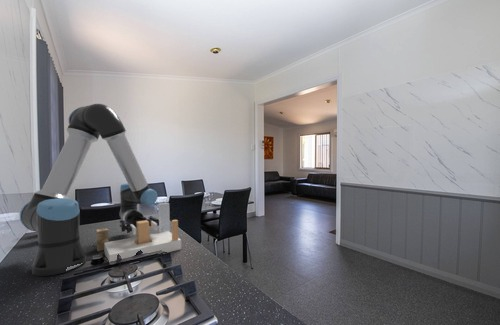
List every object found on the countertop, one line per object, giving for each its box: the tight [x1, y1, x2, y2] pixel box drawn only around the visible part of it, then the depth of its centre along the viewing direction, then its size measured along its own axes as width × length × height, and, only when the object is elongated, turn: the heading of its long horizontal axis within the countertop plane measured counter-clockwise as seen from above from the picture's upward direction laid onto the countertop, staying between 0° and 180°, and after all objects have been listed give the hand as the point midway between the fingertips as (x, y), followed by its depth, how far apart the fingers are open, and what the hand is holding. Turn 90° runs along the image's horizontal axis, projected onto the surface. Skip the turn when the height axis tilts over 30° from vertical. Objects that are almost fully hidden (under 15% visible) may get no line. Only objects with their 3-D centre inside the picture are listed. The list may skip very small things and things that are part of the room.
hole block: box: [103, 219, 182, 261], centre depth 101 cm, size 26×16×12 cm, turn 127°
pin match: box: [136, 220, 150, 245], centre depth 101 cm, size 4×4×12 cm
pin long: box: [158, 202, 171, 233], centre depth 120 cm, size 4×4×16 cm
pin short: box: [95, 227, 110, 252], centre depth 104 cm, size 4×4×8 cm
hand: (145, 229), depth 97 cm, fingers open, 7 cm apart
